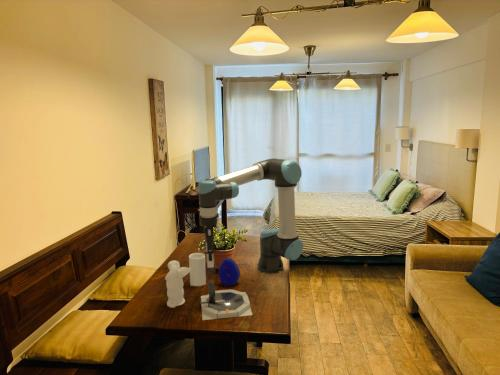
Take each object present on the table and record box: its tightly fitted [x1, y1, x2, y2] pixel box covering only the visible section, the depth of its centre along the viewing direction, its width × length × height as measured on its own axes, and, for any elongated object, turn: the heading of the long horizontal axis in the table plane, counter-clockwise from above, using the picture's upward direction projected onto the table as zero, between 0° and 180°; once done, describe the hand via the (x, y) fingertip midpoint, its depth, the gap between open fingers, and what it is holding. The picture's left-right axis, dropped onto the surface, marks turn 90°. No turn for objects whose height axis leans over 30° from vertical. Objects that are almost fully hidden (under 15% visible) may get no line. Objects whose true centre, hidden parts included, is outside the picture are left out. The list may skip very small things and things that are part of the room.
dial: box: [207, 280, 243, 311], centre depth 168 cm, size 16×16×12 cm
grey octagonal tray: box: [199, 288, 253, 321], centre depth 169 cm, size 23×23×3 cm
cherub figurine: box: [164, 259, 191, 308], centre depth 171 cm, size 12×12×22 cm
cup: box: [188, 252, 207, 287], centre depth 191 cm, size 8×8×16 cm
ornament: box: [218, 257, 241, 287], centre depth 190 cm, size 11×9×15 cm
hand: (209, 261), depth 164 cm, fingers open, 13 cm apart
